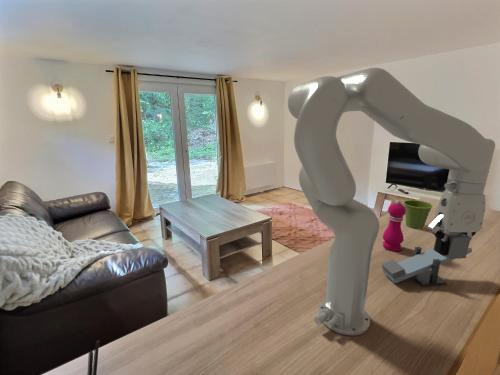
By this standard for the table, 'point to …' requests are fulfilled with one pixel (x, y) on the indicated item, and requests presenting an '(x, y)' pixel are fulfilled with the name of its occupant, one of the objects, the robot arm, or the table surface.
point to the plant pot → (416, 213)
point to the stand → (429, 274)
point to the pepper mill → (394, 227)
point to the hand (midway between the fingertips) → (449, 252)
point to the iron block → (457, 245)
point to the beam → (413, 265)
